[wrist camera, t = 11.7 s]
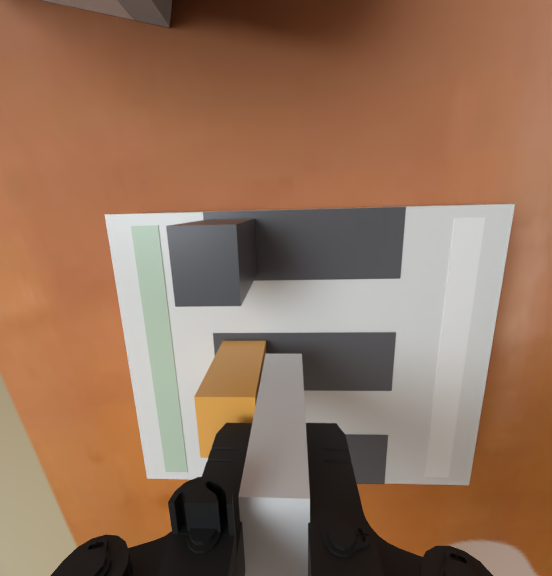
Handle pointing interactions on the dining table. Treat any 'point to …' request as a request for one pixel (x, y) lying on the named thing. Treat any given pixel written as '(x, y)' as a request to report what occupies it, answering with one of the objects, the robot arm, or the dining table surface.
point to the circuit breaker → (127, 9)
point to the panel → (330, 329)
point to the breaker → (212, 261)
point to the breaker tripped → (228, 389)
